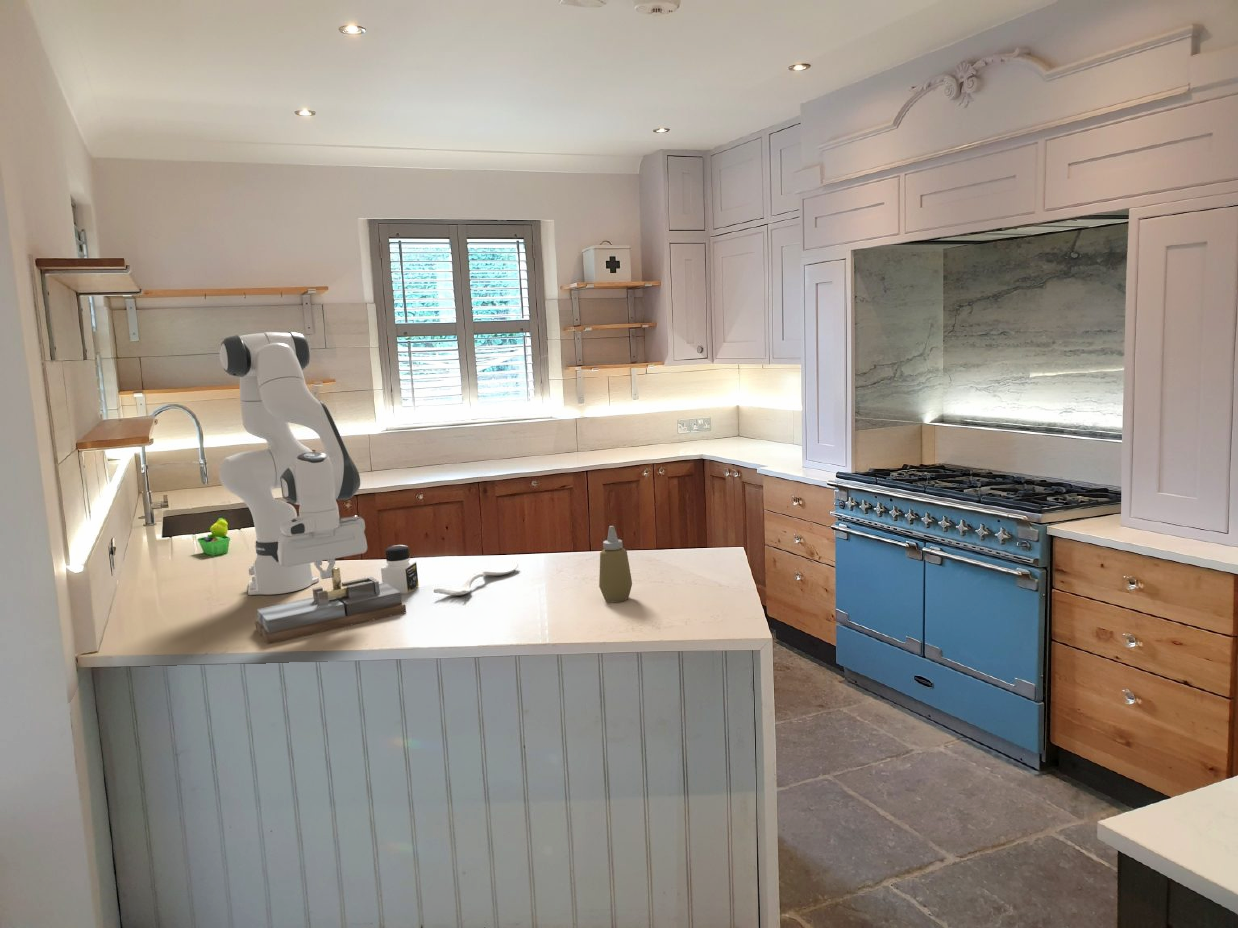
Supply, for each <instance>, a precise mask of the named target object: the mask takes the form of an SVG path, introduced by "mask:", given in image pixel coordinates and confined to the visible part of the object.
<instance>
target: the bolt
mask: <svg viewBox="0 0 1238 928" xmlns="http://www.w3.org/2000/svg"><path fill="white" fill-rule="evenodd" d="M341 577H342V576H341V569H340V567H339V566H338V567H336V566H335V567H333V569H332V578H331V582H332V583H331V584H332V588H329V589H323V591H325V590H326V591H327V592H328V600H330V599H335V598H340V597H345V596H348V593H347V586H343V587H342V579H341ZM363 583H365V582H363ZM358 584H360V583H358ZM353 585H355V584H353ZM348 586H350V585H348Z"/></svg>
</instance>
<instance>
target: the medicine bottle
mask: <svg viewBox="0 0 1238 928" xmlns="http://www.w3.org/2000/svg"><path fill="white" fill-rule="evenodd" d="M385 561H386V565H384V566H383V567H381V568H380V574H381V583H386V584H388V585H390V586H391V587H393V588H395V589H396V590H398V591H400V592H401V595H405V594H406V595H407V594H408V595H409V594H410V593H411V592H413V591H414V590H416V589H417V588H418V587H419V585H420V584H419V577H418V567H417V566H418V565H417V561H416V560H411V556H410V548H409V546H408V545H405V544H404V545H403V544H397V545H391V546H389V547H387V548H385ZM412 590H413V591H412Z"/></svg>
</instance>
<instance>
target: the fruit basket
mask: <svg viewBox="0 0 1238 928" xmlns="http://www.w3.org/2000/svg"><path fill="white" fill-rule="evenodd" d="M228 525H229V524H228V522H227V520H226V519H225V518H222V517H219V518H218V519H217V520H216V522H215V523H213V524H212V525H211V526H210V527H209V531H210V534H207V536H203V537H199V538H197V542H198V543H199V545H200V548H201V550H202V552H203V554H207V555H209V556H211V557H213V556H214V557H215V556H218V555H223V554H227V553H229V547H230V546H229V545H230V541H231V537H230V536H227V534H228V531H229V528H228Z"/></svg>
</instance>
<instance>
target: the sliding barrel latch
mask: <svg viewBox="0 0 1238 928" xmlns="http://www.w3.org/2000/svg"><path fill="white" fill-rule="evenodd" d="M379 581H380V580H377V579H375V578H373V577H372V576H368V577H363V578H358V579H352V580H349V581H348V580H347V581H343V582H342V581H341V585H342V587H343V586H347V593H348V596H345V597H340V598H335V599H330V600H328V592H327V591H326V590H327V589H323V587H322V586H319V587H313V588H312V596H313V597H310V598H304V599H300V600H295V601H290V602H285V603H281V604H276V605H271V606H266V607H260V608H256V616H257V620H255V621H254V623H255V628H256V631H257V632H258V633H259V635H260V636H262V638H263V639H264V640H265V642H267V644H274V643H277V642H278V643H279V642H282V641H286V640H291V639H296V638H299V637H304V636H305V637H306V636H309V635H312V634H317V633H321V632H325V631H331V630H334V628H336V629H339V628H343V627H344V628H345V627H348V625H349V626H352V625H351V624H353V625H356V624H361V623H365V622H366V621H367V622H371V621H374V620H373V619H375V620H378V619H379V620H380V619H383V618H388V617H387V616H389V617H391V616H390V615H393V616H396V615H402V614H405V613H404V612H406V613H407V606H406V603H404V602H403V601H402V600H403V599H402V594H401V592H400V591H398V590H396V589H395V588H393V587H391V586H390V585H388V584H386V583H382V582H381V583H380V582H379ZM363 582H365V583H363ZM358 583H360V584H358ZM353 584H355V585H353ZM348 585H350V586H348ZM324 590H325V591H324ZM401 613H402V614H401ZM370 620H371V621H370Z"/></svg>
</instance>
